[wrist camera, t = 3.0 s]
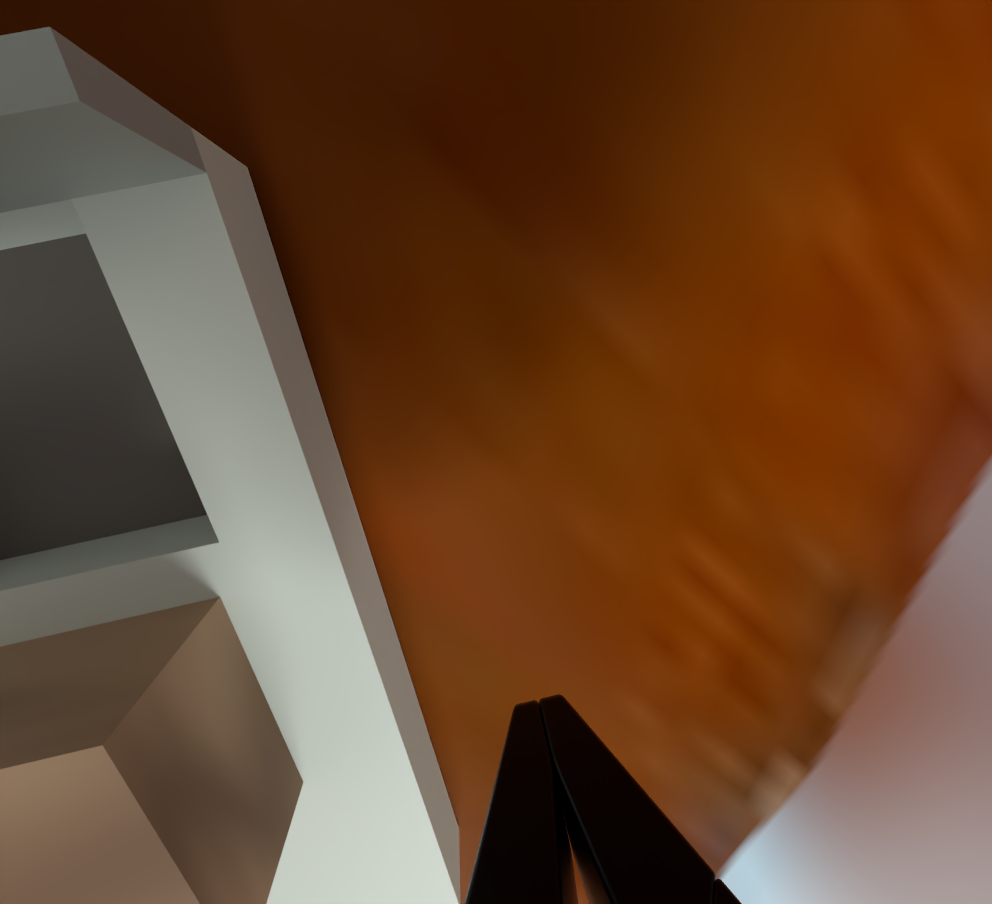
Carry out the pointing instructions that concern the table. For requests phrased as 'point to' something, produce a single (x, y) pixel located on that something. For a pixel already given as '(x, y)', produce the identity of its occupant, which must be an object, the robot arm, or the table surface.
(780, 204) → the table surface
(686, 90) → the table surface
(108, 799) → the block
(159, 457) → the tray
